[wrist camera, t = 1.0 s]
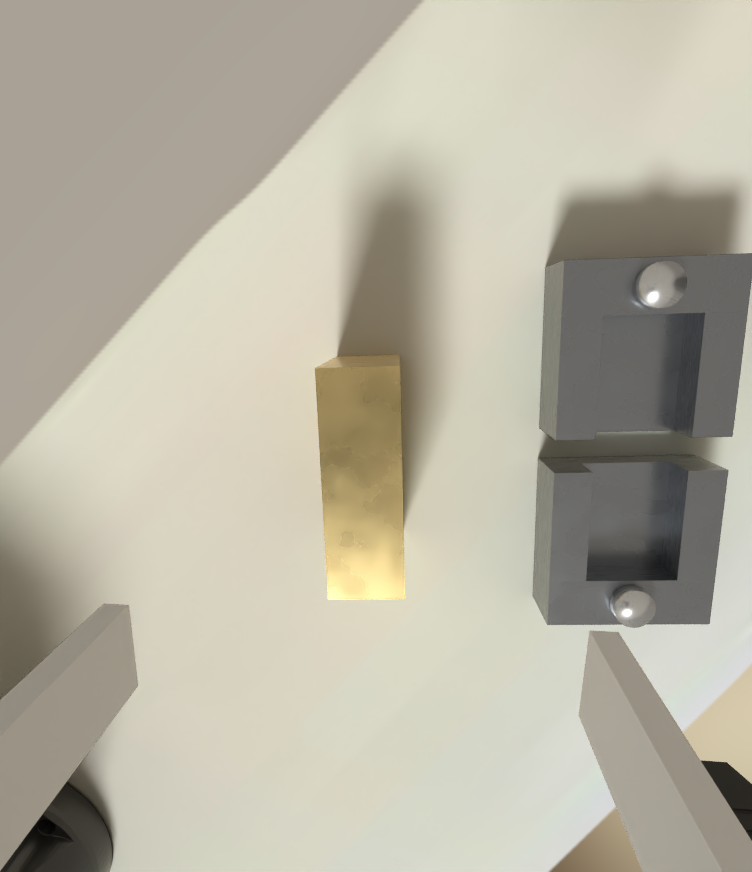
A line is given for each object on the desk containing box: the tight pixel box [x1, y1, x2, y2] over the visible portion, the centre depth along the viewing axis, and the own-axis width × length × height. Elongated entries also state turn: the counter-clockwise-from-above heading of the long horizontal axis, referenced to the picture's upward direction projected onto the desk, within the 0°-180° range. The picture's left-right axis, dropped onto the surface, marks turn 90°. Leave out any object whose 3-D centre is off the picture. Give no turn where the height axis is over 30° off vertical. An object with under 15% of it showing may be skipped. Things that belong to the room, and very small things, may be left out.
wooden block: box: [315, 355, 405, 600], centre depth 29 cm, size 4×12×9 cm, turn 2°
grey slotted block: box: [533, 253, 752, 628], centre depth 31 cm, size 10×22×4 cm, turn 2°
